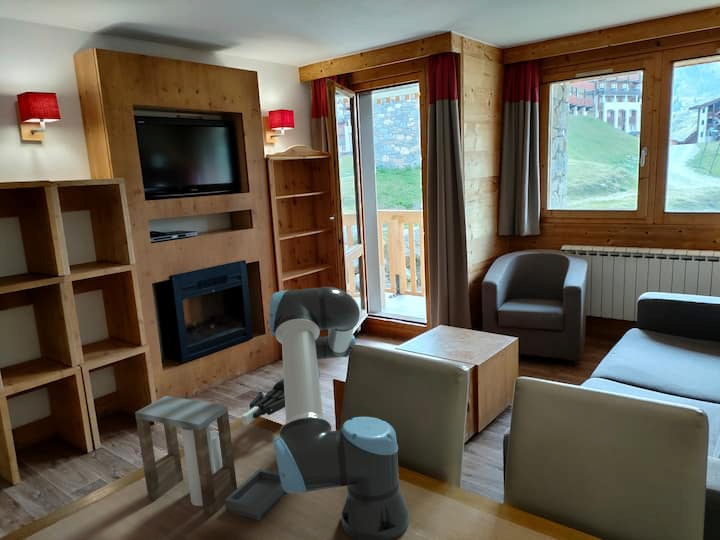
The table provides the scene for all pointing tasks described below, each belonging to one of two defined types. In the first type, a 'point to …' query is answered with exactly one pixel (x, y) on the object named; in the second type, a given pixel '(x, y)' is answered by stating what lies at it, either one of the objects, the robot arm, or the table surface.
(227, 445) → the wooden stool
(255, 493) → the dark gray tray
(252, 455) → the table surface
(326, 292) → the robot arm
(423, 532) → the table surface
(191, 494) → the vase
